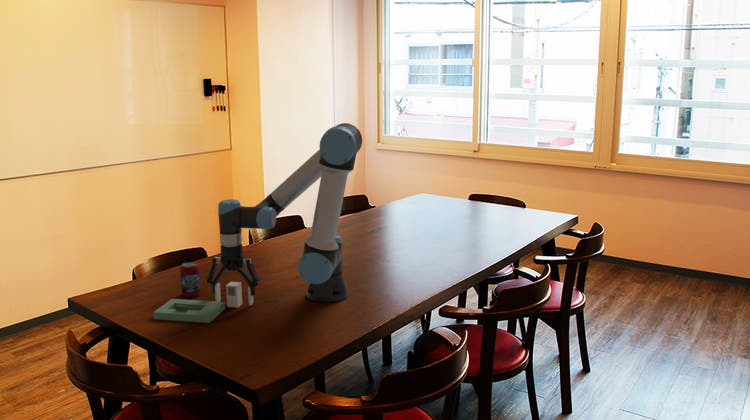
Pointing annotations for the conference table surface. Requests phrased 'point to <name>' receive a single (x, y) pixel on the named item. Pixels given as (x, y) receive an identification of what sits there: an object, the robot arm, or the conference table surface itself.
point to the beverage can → (190, 279)
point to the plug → (234, 294)
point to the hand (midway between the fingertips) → (234, 302)
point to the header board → (189, 310)
